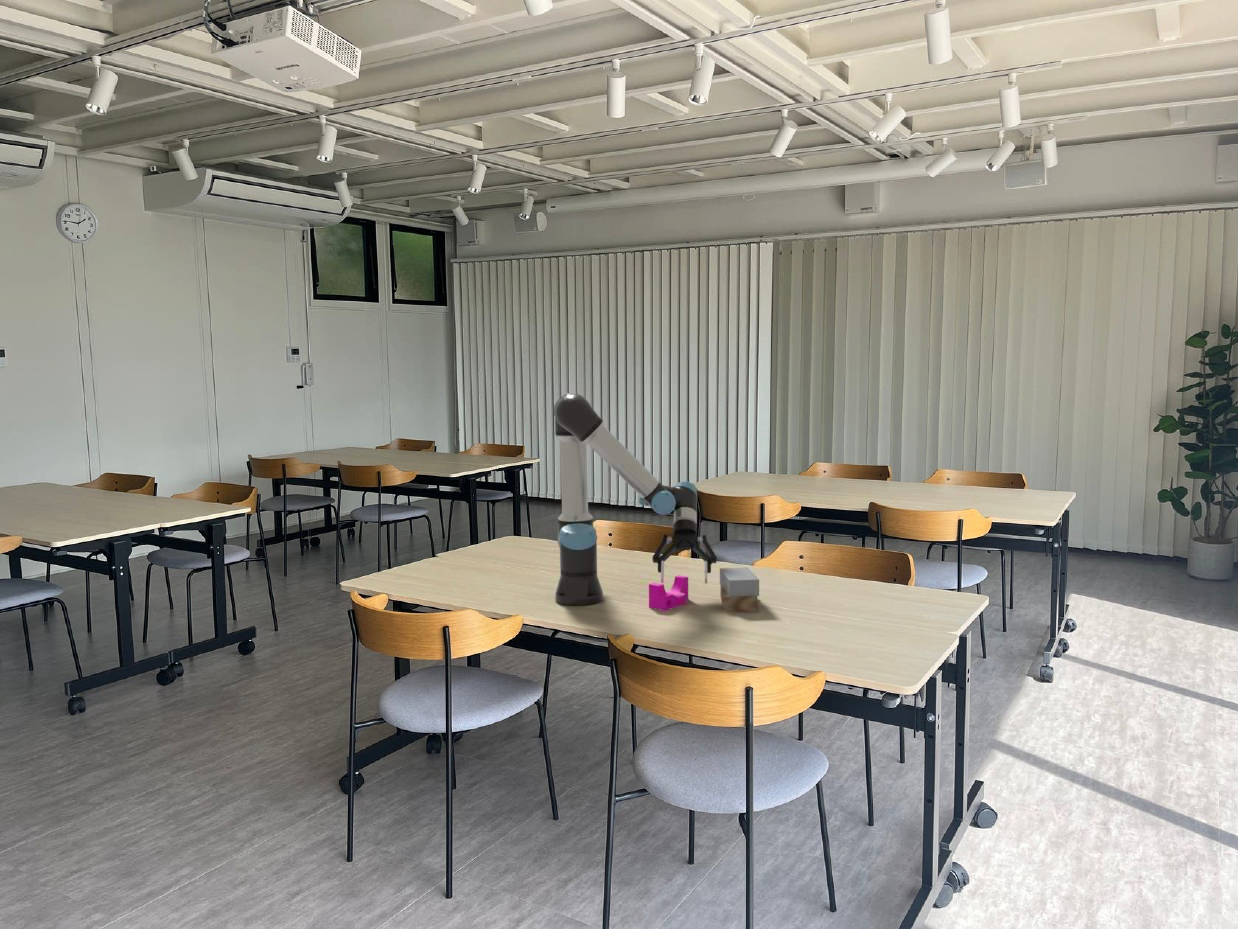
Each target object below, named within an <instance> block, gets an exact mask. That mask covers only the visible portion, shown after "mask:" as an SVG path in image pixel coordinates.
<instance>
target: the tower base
mask: <svg viewBox="0 0 1238 929" xmlns="http://www.w3.org/2000/svg"><path fill="white" fill-rule="evenodd" d="M719 586H720V590H719V592H720V600H721V605H723V606H722V610H723V612H724V611H725V612H724V613H758V597H759V596H738V597H729V595H728V594H727V593H726V591H725V590H724V589H723V587H722V586H721V585H720V584H719Z"/></svg>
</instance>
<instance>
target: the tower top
mask: <svg viewBox="0 0 1238 929" xmlns="http://www.w3.org/2000/svg"><path fill="white" fill-rule="evenodd" d="M720 585H721V586H722V587H723V589H724V590H725V591H726V593H727V594H728V595H729V597H738V596H757V597H759V596H760V579H759V578H758V576H757V575H755V573H754V572H753V571H752V570H751V569H750V568H749V567H722V568H719V586H720Z"/></svg>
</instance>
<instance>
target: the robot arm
mask: <svg viewBox="0 0 1238 929" xmlns="http://www.w3.org/2000/svg"><path fill="white" fill-rule="evenodd" d="M553 416H554V429H555V430H554V434H555V437H556V438H557V439H558V440H559V444H560V474H561V475H560V479H561V514H560V515H559V516H558V517H557V538H556V540H557V545H558V548H559V558H560V559H559V560H560V561H559V562H560V563H559V564H560V565H559V569H560V576H559V580H558V584H557V587H556V591H555V594H554V595H555V596H554V597H555V602H557V603H558V604H562V605H565V606H566V605H567V606H587V605H594V604H597V603H600V602H602V601H603V600H604V592H603V588H602V586H601V582H600V579H599V577H598V551H597V550H598V549H597V548H598V547H597V546H598V544H597V543H598V542H597V541H598V534H597V529H596V528H595V527H594V517H593V516H592V514H591V513H589V495H588V494H589V492H588V487H589V485H588V484H589V483H588V451H587V450H588V448H587V447H588V446H589V447H590V448H591V449H592V450H593V451H594V452H595V453H596V454H597V455H598V456H600V458H601V459H602V460H603V461H604V462H606V464H607V465H609V467H610V468H611V469H613V471H615V473H616V474H618V475H619V477H620V478H621V479H623V481H625V483H626V484H627V485H628V486H630V487H631V489H632V490H633V491H634V492H636V494H638V495H637V496H638V497H637V501H638V503H639V505H643V506H646V507H650V508H651V509H652V510H653V512H655V513H656V514H659V515H662V516H665V515H666V516H667V515H669V514H670V513H672V512H673V529H672V530H673V532H672V534H673V535H672V536H668V535H667V534H664V535H663V537H662V541H661V543H660V544H659V546H658V547H657V549H656V551H655V552H654V554H653V555H652V563H654V564H657V572H658V574H660V584H664V582H665V581H664V580H665V562H666V561H667V560H668V559H670V557H671V556H672V555H673V554H674V553H676V552H677V551H678V550H679V551H691V550H692V551H693V553H695V554H697V555H698V557H699V558H701V560H703V561H704V584H708V574H711V573H712V564H716V563H717V562H718V561H717V560H718V557H717V556H716V554H715V552H714V550H713V548H712V547H711V546H710V543H709V542H708V540H707V536H706V535H705V534H702V535H701V536H698V535H697V533H698V532H697V531H698V530H697V528H698V526H697V522H698V521H697V520H698V519H697V518H698V514H697V509H698V508H697V507H698V506H697V504H698V492H697V487H696V485H695V484H694V483H693V482H690V481H680V482H678V483H676V484H675V485H674V486H669V485H664V484H662V483H661V482H660V481H659V480H658V479H657V478H656V477H655V476H654V475H653V473H651V471H650V470H648V469H647V468H646V467H645V465H643V464H642V463H641V461H639V460H638V459H637V458H636V456H634V454H632V453H631V452H630V451H629V450H628V449H627V448H626V447H625V446H624V444H623V443H621V441H619V439H617V438H616V436H614V434H612V433H611V432H610V430H609V429H608V428H607V427H606V426H605V422H604V420H603V419H602V418H601V416H600V415H598V413H597V412H596V411H595V409H594V407H592V405H591V403H590V402H589V401H588V400H587V399H586V398H585V396H582V394H578V393H567V394H564V395H562V396H560V397H559V398H558V399H557V400H556V402H555V404H554V408H553ZM587 445H588V446H587ZM671 542H672V543H671ZM698 542H699V543H700V544H701V545H703V546H702V547H703V548H704V549H705V550H702V548H701V547H700V546H699V545H698V544H697V543H698ZM670 543H671V545H670V546H669V547H668V548H667V549H666V547H667V545H669V544H670ZM665 549H666V550H665ZM705 551H706V552H705Z"/></svg>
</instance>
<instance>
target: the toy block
mask: <svg viewBox="0 0 1238 929" xmlns="http://www.w3.org/2000/svg"><path fill="white" fill-rule="evenodd" d="M673 580H674V582H673V584H672V586H671V588H670V589H669V591H668V592H667V590H666V589H665V584H664V583H658V582H652V583H649V584H648V608H650V609H654V608H657V609H656V610H659V609H661V610H660V611H663V610H664V611H665V612H666V611H669V610H671V609H670V608H672V609H673V608H674V607H675V608H677V607H676V606H678V607H680V606H679V605H681V606H683V604H684V605H686V604H685V603H687V602H686V601H687V600H689V576H685V575H676V576H674V579H673ZM675 608H674V609H675ZM668 609H669V610H668Z"/></svg>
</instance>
